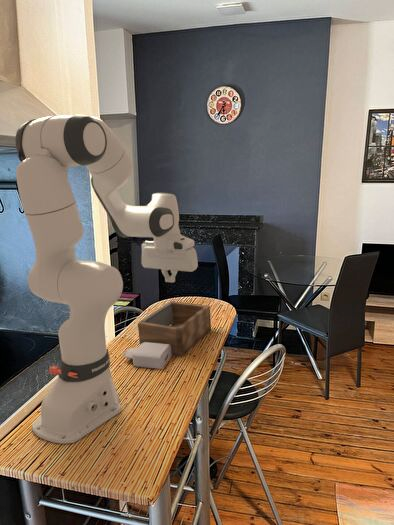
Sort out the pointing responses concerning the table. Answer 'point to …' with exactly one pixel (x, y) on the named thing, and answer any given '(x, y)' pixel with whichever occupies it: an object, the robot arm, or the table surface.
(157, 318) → the tailgate
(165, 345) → the charger
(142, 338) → the crate
